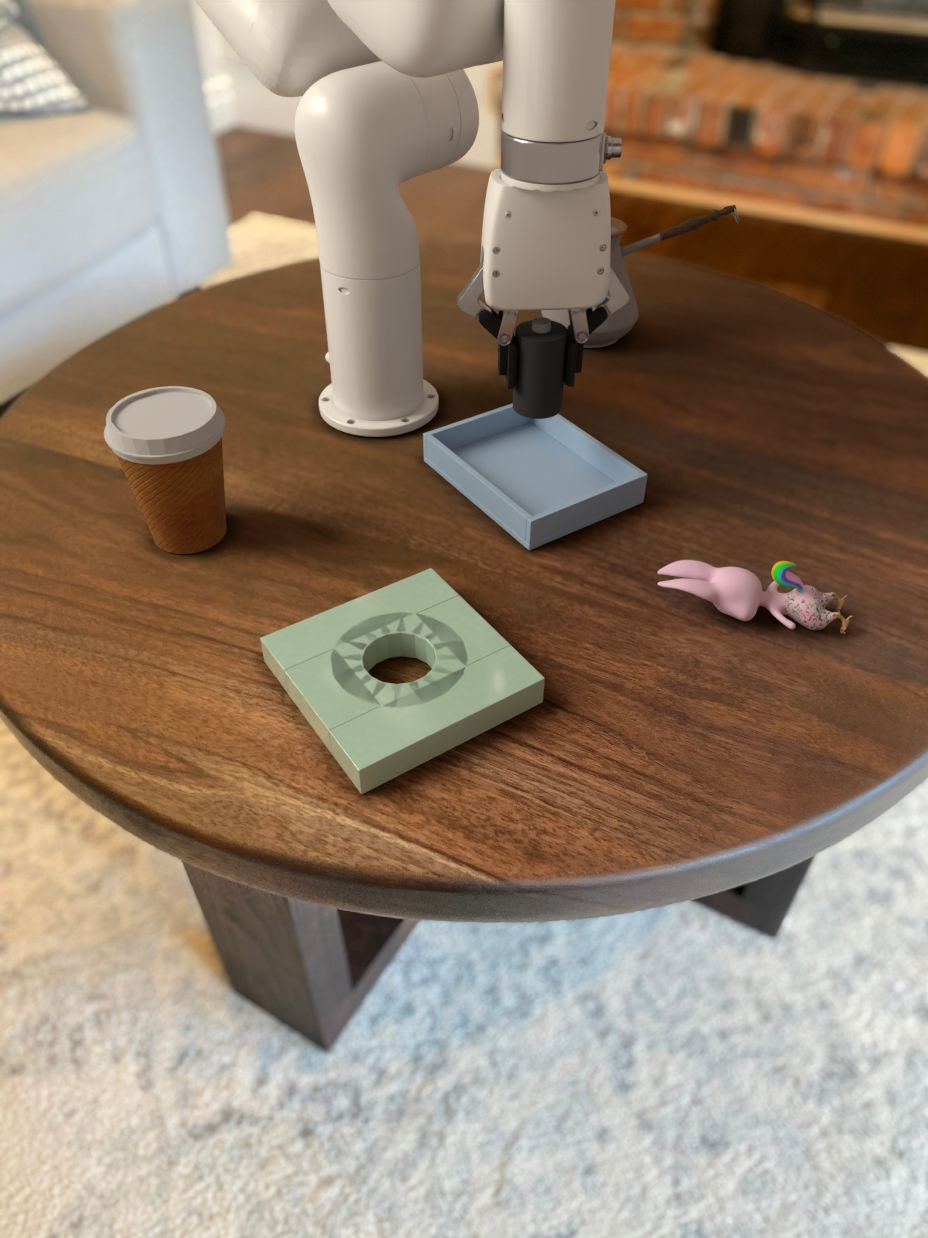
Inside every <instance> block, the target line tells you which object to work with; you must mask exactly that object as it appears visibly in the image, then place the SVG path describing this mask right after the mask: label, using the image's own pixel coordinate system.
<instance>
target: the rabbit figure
mask: <svg viewBox="0 0 928 1238" xmlns="http://www.w3.org/2000/svg"><path fill="white" fill-rule="evenodd" d="M797 566H798V565H797V564H796V563H794V562H792V561H788V560H779V561H777V562H775V563H774V564H773V566H772V567H771V572H770V573H771V577H772V582H771V583H770V584H769V585H768V587H767V588H766V590H765V591H763V586H762V582H761V580H760V579H759V577H758V576H757V575H756V574H755V573H754V572H753V571H750V570H749V569H746V568H743V567H739V566H723V567H715V566H713V565H711V564H709V563H707V562H704V561H702V560H694V559H680V560H676V561H673V562H671V563H668V564H667V565H665V566H663V567H662V568H660V569H659V570H657V574H658V575H659V576H669V577H675V578H674V579H668V580H663V581H658V582H657V585H658V586H659V587H662V588H667V589H675V590H680V591H683V592H686V593H688V594H692V595H695V596H696V597H698V598H701V599H703V600H705V601H707V602H711V603H712V604H713V606H714V607H715V609H717V610H718V611H719V612H721V613H723V614H725V615H728V616H730V617H732V618H734V619H737V620H738V621H741V622H749V621H751V620H752V619H753V618H754V617H755V615H756V614H757V611H758V608H759V607H763V608H765V609H766V610H768V611H769V612H770V614H771V615H772V616H773V617H774V618H776V620H777V621H778V622H780V623H782V625H784V626H785V627H786V628H788V629H790V630H795V629H796V623H798V624H800V625H801V626H803V627H804V628H806V629H808V630H811V631H820V630H823V629H824V628H826V627H827V626H828V625H830V623H832V622H833V621H834V620H836V619H839V620H840V621H841V622H842V623H841V626H840V629H839V633H840V634H846V632H845V631H846V630H847V628H848V625H849V624H850V621H851V620H850V619H851V618H852V617H853V615H849V616H848V617H847V618H845V617H844V616H843V615H842V614H841V610H842V608H843V605H844V604H845V602H846V601H845V599H846V598H847V597H848V595H845V596H843V597H842V598H841V597H839V595H837V593H836V592H835V591H830V592H822V591H818V589H816V588H815V586H813V585H808V584H804V582H803V581H802V579H801V578H800V577H799V576H798V575H796V574H795V573H793V572H791V571H789V570H790V569H791V568H793V567H797ZM780 586H781V587H784V588H790V589H792V588H793V589H792V590H791V591H789V592H783V593H782V592H779V591H778V589H779V587H780ZM832 600H836V602H837V603H836V605H835V611H833V612H832V611H830V610H828V609H826V607H827V605H828V604H829V603H830V602H831V601H832ZM785 616H788V617H789V618H791V619H792V620H793V621H795V622H796V623H795V622H793V621H792V620H790V619H788V618H786V617H785Z"/></svg>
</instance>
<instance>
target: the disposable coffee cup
mask: <svg viewBox="0 0 928 1238" xmlns="http://www.w3.org/2000/svg"><path fill="white" fill-rule="evenodd" d="M225 427H226V415H225V414H224V412H223V410H222V409H221V408H220V407H219V406H218V404H217V402H216V400H215V399H214V398H213V397H212V396H211V395H210V394H209V393H207V392H205V391H204V390H200V389H198V388H195V387H189V386H181V385H169V386H165V385H164V386H157V387H151V388H146V389H143V390H139V391H136V392H134V393H131V394H129V395H127V396H125V397H123V398H121V399H119V400H118V401H116V403H115V404H114V405H113V406H112V407H111V408H109V410H108V412H107V414H106V417H105V426H104V430H103V438H104V441H105V442H106V444H107V445H108V447H109V448H110V449H111V450H112V451H113V453H114V454H115V455H116V457H117V459H118V461H119V464H120V466H121V468H122V470H123V473H124V476H125V477H126V479H127V482H128V484H129V486H130V489H131V491H132V493H133V496H134V498H135V500H136V502H137V504H138V507H139V509H140V512H141V514H142V516H143V518H144V520H145V523H146V525H147V528H148V530H149V531H150V534H151V536H152V539H153V541H154V544H155V545H156V547H158V548H159V549H160V550H162V551H164V552H167V553H171V554H176V555H190V554H197V553H200V552H203V551H206V550H208V549H210V548H212V547H214V546H216V545H217V544H218V543H220V542H221V541H222V539H224V537H225V535H226V533H227V528H228V527H227V514H226V494H225V493H226V492H225V475H224V474H225V472H224V455H223V454H224V453H223V434H224V430H225Z"/></svg>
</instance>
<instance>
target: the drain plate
mask: <svg viewBox="0 0 928 1238" xmlns="http://www.w3.org/2000/svg"><path fill="white" fill-rule="evenodd" d="M259 641H260V645H261V646H260V647H261V650H262V656H263V661H264V663H265V664H266V666H267V667H268V668H269V670H270V671H271V673H272V674H273V676H274V677H275V678H276V680H277V681H278V682H279V683H280V685H281V687H282V688H283V689H284V690H285V692H286V693H287V694H288V696H289V698H290V699H291V700H292V702H293V703H294V704H295V706H296V707H297V709H298V710H299V711H300V712H301V714H302V716H303V717H304V718H305V719H306V721H307V723H308V724H309V725H310V727H311V728H312V729H313V730H314V732H315V733H316V735H317V736H318V737H319V739H320V740H321V741H322V743H323V744H324V745H325V747H326V748H327V750H328V751H329V752H330V754H331V755H332V756H333V758H334V759H335V760H336V762H337V763H338V765H339V766H340V767H341V769H342V770H343V771H344V773H345V774H346V776H347V778H349V780H350V781H351V782H352V784H353V785H354V787H355V789H357V791H358V793H360V795H364V794H365V793H368V792H369V791H372V790H374V789H375V788H378V787H380V786H381V785H384V784H385V783H387V782H389V781H392V780H393V779H395V778H397V777H399V776H401V775H403V774H405V773H407V772H409V771H411V770H414V769H415V768H416V767H419V766H420V765H423V764H425V763H426V762H428V761H430V760H432V759H435V758H436V757H438V756H440V755H442V754H444V753H446V752H448V751H450V750H452V749H454V748H457V746H460V745H462V744H464V743H466V742H467V741H469V740H471V739H473V738H475V737H477V736H479V735H481V734H483V733H485V732H487V731H489V730H491V729H493V728H495V727H497V726H498V725H501V724H502V723H506V722H507V721H509V720H511V719H513V718H514V717H517V716H519V715H521V714H523V713H524V712H526V711H529V710H530V709H532V708H534V707H536V706H538V705H540V704H542V703H544V692H545V681H546V679H545V676H543V675H542V674H541V672H539V671H538V670H537V669H536V668H535V667H534V666H533V665H532V664H531V663H530V662H529V661H528V660H527V659H526V658H525V657H524V656H523V655H522V654H521V653H520V652H519V651H517V650H516V649H515V648H514V647H513V646H512V645H511V643H509V641H507V639H505V637H503V636H502V635H501V634H500V633H499V632H498V631H497V630H496V629H495V628H494V627H493V626H492V625H491V624H490V623H489V622H488V621H487V620H486V619H485V618H484V617H483V616H481V614H480V613H479V612H478V611H476V610H475V608H473V607H472V606H471V604H469V603H468V602H467V601H466V600H465V599H464V598H463V597H462V596H461V595H460V594H459V593H458V592H457V591H456V590H455V589H454V588H453V587H452V586H451V585H449V583H448V582H446V581H445V580H444V578H442V577H441V576H440V575H439V573H438V572H436V570H434V569H433V568H432V567H429V568H427V569H425V570H422V571H420V572H417V573H415V574H413V575H410V576H408V577H405V578H403V579H401V580H398V581H395V582H393V583H391V584H389V585H386V586H384V587H381V588H379V589H376V590H374V591H371V592H368V593H365V594H363V595H361V596H359V597H357V598H354V599H351V600H349V601H347V602H344V603H342V604H339V605H336V606H335V607H332V608H330V609H327V610H325V611H322V612H320V613H318V614H314V615H312V616H310V617H307V618H305V619H302V620H300V621H298V622H295V623H293V624H291V625H288V626H286V627H283V628H280V629H278V630H275V631H273V632H271V633H268V634H266V635H264V636H261V637H260V638H259ZM399 657H404V658H412V659H416V660H419V661H421V662H422V663H425V664H426V665H428V666H429V667H430V668H431V669H430V670H429V671H428V672H427V673H426V674H425V675H424V676H422V677H420V678H418V679H416V680H414V681H410V682H409V681H408V682H402V683H391V682H387V681H386V682H385V681H381V680H379V679H378V678H376V677H373V676H372V675H371V674H370V673H369V672H370V670H371V669H373V668H374V667H375V666H376V665H377V664H379V663H382V662H383V661H385V660H388V659H391V658H392V659H393V658H399Z"/></svg>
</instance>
